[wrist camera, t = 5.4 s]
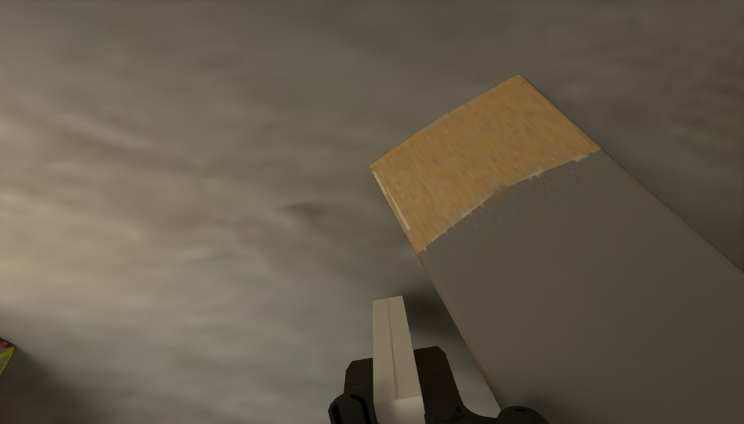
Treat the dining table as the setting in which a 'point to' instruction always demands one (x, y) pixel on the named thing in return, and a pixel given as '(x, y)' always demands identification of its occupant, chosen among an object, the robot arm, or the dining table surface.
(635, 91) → the dining table surface
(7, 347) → the snack box
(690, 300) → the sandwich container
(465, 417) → the robot arm
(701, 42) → the dining table surface
